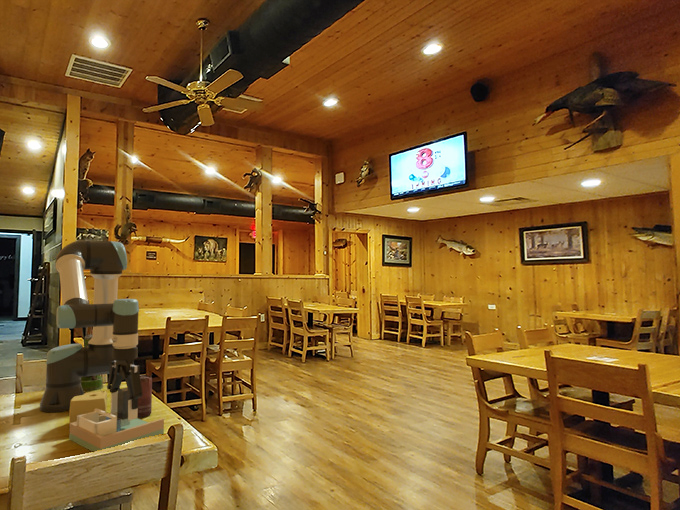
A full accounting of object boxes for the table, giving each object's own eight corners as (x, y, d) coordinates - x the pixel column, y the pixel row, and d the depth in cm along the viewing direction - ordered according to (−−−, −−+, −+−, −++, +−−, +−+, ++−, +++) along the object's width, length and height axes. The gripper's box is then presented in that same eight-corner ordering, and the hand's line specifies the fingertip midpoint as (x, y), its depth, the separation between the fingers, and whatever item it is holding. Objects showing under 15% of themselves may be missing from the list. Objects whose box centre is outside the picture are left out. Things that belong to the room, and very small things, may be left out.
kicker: (105, 428, 141) (106, 390, 142) (124, 423, 146) (125, 386, 147) (116, 433, 137) (117, 394, 138) (136, 427, 142) (136, 389, 143)
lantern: (109, 388, 196) (111, 320, 197) (84, 393, 188) (86, 323, 189) (94, 383, 205) (95, 318, 205) (69, 388, 196) (71, 320, 197)
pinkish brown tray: (69, 439, 139) (69, 423, 139) (131, 421, 155) (131, 407, 155) (100, 455, 127) (100, 438, 127) (163, 434, 143) (163, 419, 143)
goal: (76, 435, 137) (77, 413, 137) (96, 429, 142) (97, 408, 142) (95, 445, 130) (96, 421, 130) (116, 438, 135) (116, 416, 135)
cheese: (73, 421, 155) (74, 392, 155) (108, 417, 159) (108, 389, 159) (68, 431, 145) (69, 401, 145) (105, 427, 149) (105, 397, 150)
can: (145, 418, 158) (145, 379, 158) (129, 417, 159) (130, 378, 160) (155, 413, 164) (156, 375, 164) (140, 412, 165) (141, 374, 166)
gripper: (96, 344, 147) (94, 411, 146) (132, 352, 134) (131, 426, 133) (118, 341, 153) (117, 405, 152) (155, 349, 140) (154, 419, 139)
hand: (123, 415), depth 143 cm, fingers open, 10 cm apart
